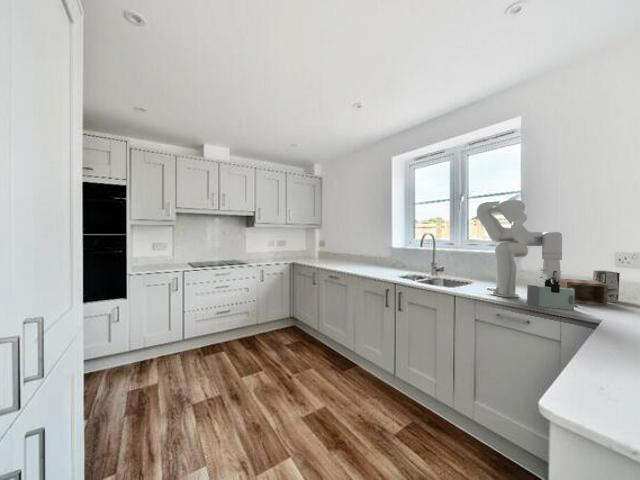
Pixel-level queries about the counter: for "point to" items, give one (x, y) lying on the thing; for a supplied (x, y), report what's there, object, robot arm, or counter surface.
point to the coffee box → (609, 283)
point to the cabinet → (587, 291)
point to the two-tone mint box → (550, 297)
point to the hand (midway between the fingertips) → (551, 290)
